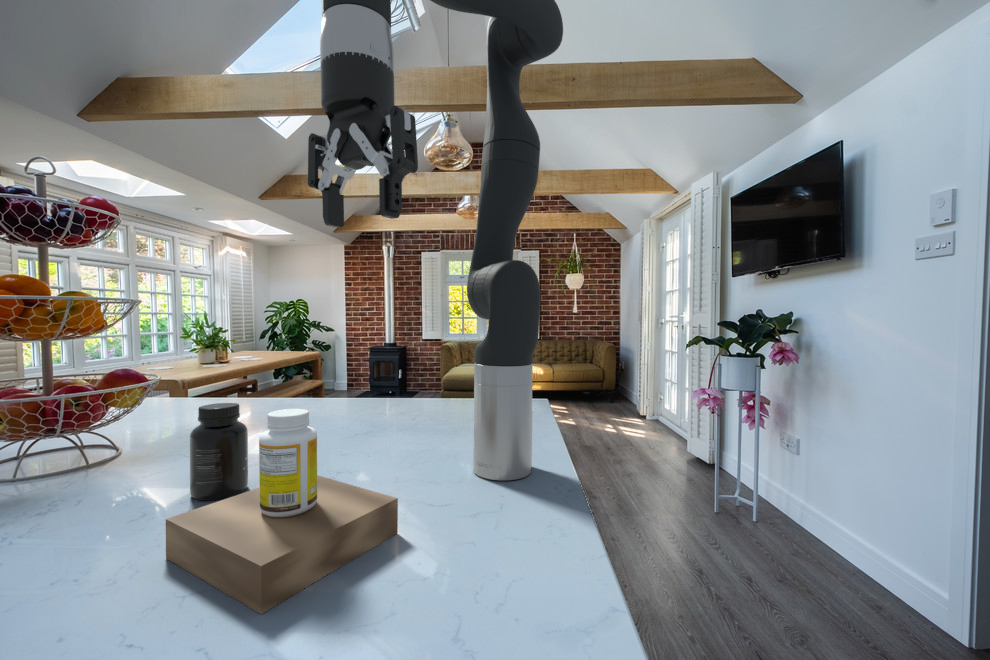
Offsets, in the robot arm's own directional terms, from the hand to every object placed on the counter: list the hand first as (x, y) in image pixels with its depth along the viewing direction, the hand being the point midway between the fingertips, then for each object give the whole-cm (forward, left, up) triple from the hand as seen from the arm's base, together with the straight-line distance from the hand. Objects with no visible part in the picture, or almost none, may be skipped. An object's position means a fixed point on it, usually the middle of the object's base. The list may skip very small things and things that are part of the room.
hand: (360, 222), depth 48 cm
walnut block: (+5, -5, -35) cm, 35 cm away
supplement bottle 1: (+1, -26, -35) cm, 44 cm away
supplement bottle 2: (+5, -5, -31) cm, 32 cm away
